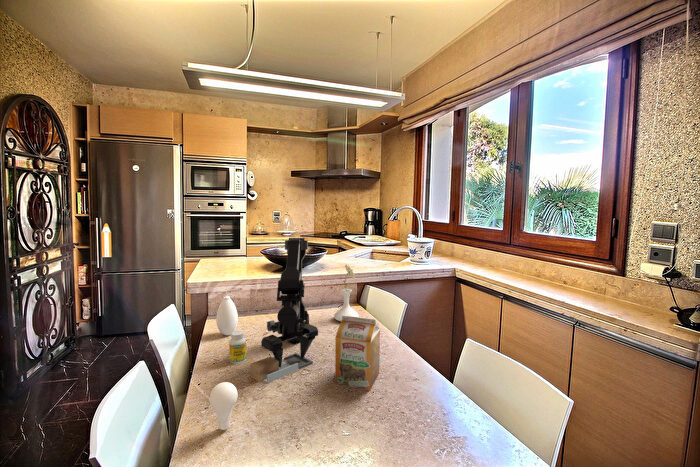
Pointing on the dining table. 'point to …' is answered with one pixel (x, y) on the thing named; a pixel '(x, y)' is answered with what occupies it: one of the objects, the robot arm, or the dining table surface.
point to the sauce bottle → (227, 316)
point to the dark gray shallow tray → (298, 360)
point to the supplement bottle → (237, 347)
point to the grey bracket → (282, 371)
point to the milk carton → (357, 352)
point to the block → (263, 368)
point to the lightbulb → (223, 402)
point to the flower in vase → (346, 300)
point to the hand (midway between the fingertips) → (291, 362)
